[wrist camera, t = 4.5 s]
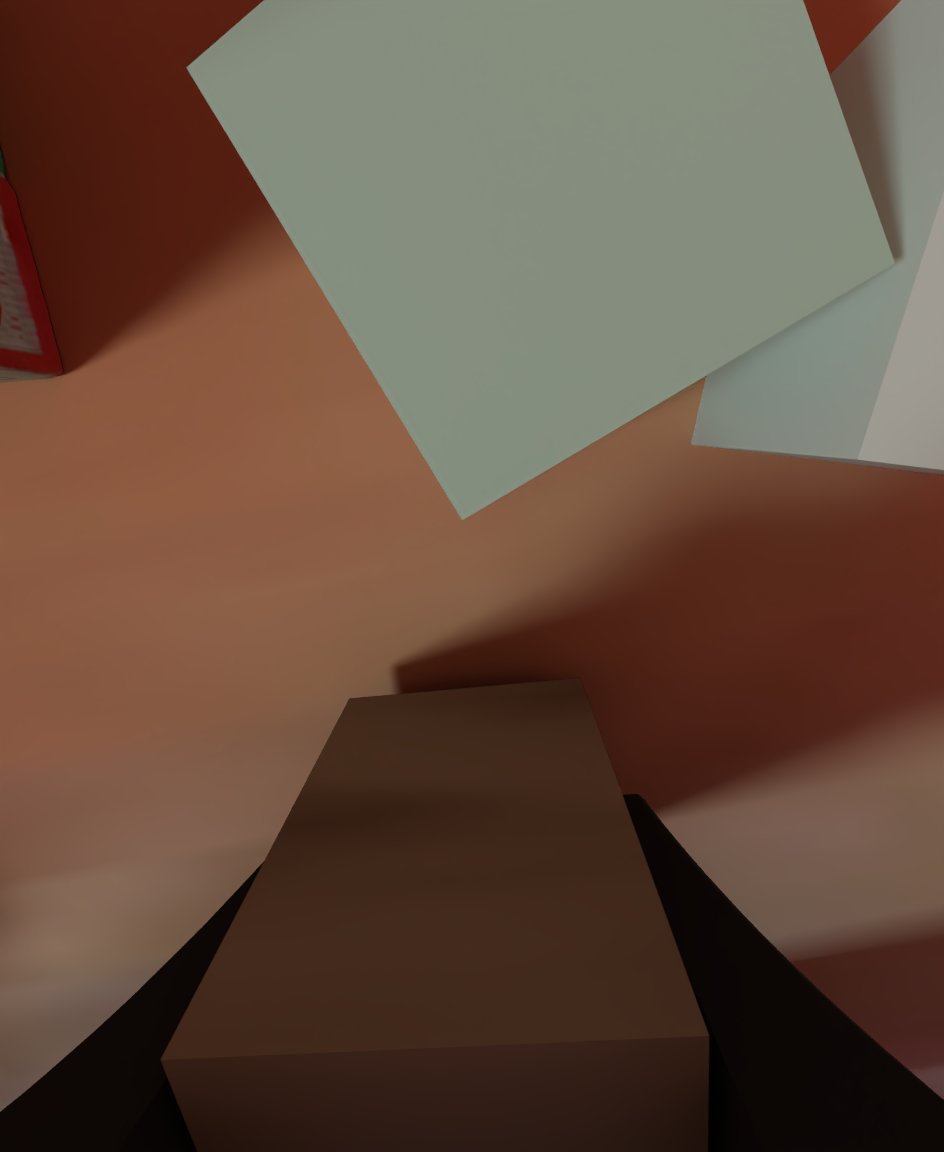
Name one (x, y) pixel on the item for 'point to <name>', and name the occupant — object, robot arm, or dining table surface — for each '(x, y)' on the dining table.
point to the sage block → (547, 201)
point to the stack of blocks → (21, 301)
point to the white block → (864, 287)
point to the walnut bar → (450, 951)
